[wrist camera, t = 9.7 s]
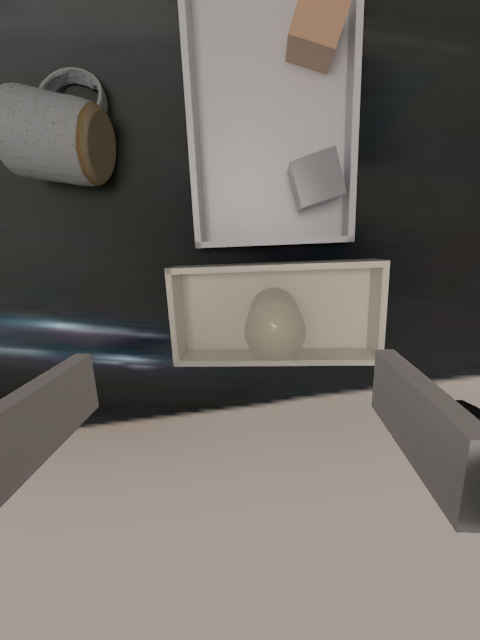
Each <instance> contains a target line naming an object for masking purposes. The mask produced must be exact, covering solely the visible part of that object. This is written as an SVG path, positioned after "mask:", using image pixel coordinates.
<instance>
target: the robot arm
mask: <svg viewBox="0 0 480 640" xmlns="http://www.w3.org/2000/svg"><path fill="white" fill-rule="evenodd" d="M98 407H99V404H98V397H97V391H96V385H95V378H94V372H93V366H92V359H91V354H74V355H72V356H71V357H69V358H68V359H66V360H64V361H63V362H61V363H59V364H58V365H56V366H54V367H53V368H51V369H49V370H48V371H46V372H45V373H43V374H41V375H40V376H38V377H36V378H35V379H33V380H31V381H30V382H28V383H26V384H25V385H23V386H22V387H20V388H18V389H17V390H15V391H13V392H12V393H10V394H8V395H7V396H5V397H4V398H2V399H0V507H1V506H2V505H3V504H4V503H5V502H6V501H7V500H8V499H9V498H10V497H11V496H12V495H13V494H14V493H15V492H16V491H17V490H18V489H19V488H20V487H21V486H22V485H23V484H24V483H25V482H26V480H27V479H28V478H29V477H30V476H31V475H32V474H33V473H34V472H35V471H36V470H37V469H38V468H39V467H40V466H41V465H42V464H43V463H44V462H45V461H46V460H47V459H48V458H49V457H50V456H51V455H52V454H53V453H54V452H55V451H56V450H57V449H58V448H59V447H60V446H61V445H62V444H63V443H64V442H65V441H66V440H67V439H68V438H69V436H70V435H71V434H73V433H74V431H75V430H76V429H77V428H78V427H79V426H80V425H81V424H82V423H83V422H84V421H85V420H86V419H87V418H88V417H89V416H90V415H91V414H92V413H93V412H94V411H95V410H96V409H97V408H98ZM372 407H373V408H374V410H375V411H376V413H377V414H378V416H379V417H380V419H381V420H382V422H383V423H384V425H385V426H386V428H387V429H388V431H389V432H390V434H391V435H392V437H393V438H394V440H395V441H396V443H397V444H398V446H399V447H400V449H401V450H402V452H403V453H404V455H405V456H406V458H407V459H408V461H409V462H410V464H411V465H412V467H413V468H414V469H415V471H416V473H417V474H418V476H419V477H420V478H421V480H422V482H423V483H424V484H425V486H426V488H427V489H428V490H429V492H430V493H431V495H432V497H433V498H434V499H435V501H436V503H437V504H438V505H439V507H440V508H441V510H442V511H443V513H444V514H445V516H446V517H447V519H448V520H449V522H450V523H451V525H452V526H453V528H454V529H455V531H456V532H470V533H480V409H479V408H478V407H476V406H473V405H471V404H469V403H467V402H465V401H462V400H454V399H453V398H452V397H451V396H450V395H448V394H447V393H446V392H445V391H443V390H442V389H441V388H440V387H439V386H437V385H436V384H435V383H434V382H433V381H431V380H430V379H429V378H428V377H426V376H425V375H424V374H423V373H422V372H420V371H419V370H418V369H417V368H416V367H414V366H413V365H412V364H411V363H409V362H408V361H407V360H406V359H405V358H403V357H402V356H401V355H400V354H399V353H397V352H396V351H395V350H394V349H383V350H376V352H375V367H374V382H373V397H372Z"/></svg>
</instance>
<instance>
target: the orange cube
mask: <svg viewBox="0 0 480 640" xmlns="http://www.w3.org/2000/svg"><path fill="white" fill-rule="evenodd" d="M351 1H352V0H298V2H297V5H296V8H295V12H294V15H293V18H292V22H291V25H290V28H289V32H288V38H287V49H286V59H285V61H286V62H289V63H292V64H295V65H298V66H301V67H305V68H308V69H311V70H314V71H317V72H320V73H323V74H326V75H327V72H328V69H329V67H330V64H331V61H332V58H333V55H334V52H335V49H336V46H337V43H338V40H339V37H340V34H341V31H342V28H343V25H344V22H345V19H346V16H347V13H348V10H349V7H350V4H351Z"/></svg>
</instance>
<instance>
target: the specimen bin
mask: <svg viewBox="0 0 480 640" xmlns="http://www.w3.org/2000/svg"><path fill="white" fill-rule="evenodd" d="M164 271H165V281H166V292H167V302H168V313H169V323H170V334H171V344H172V355H173V365H174V367H219V366H370V365H375V352H376V350H383V349H384V346H385V331H386V316H387V302H388V287H389V272H390V260H383V259H376V258H375V259H348V260H320V261H293V262H266V263H238V264H211V265H184V266H173V267H169V268H165V269H164ZM267 288H280V289H283V290H285V291H287V292H288V293H289V294H290V295H291V296H292V297H293V299H294V301H295V303H296V305H297V307H298V309H299V312H300V314H301V316H302V318H303V320H304V323H305V327H306V336H305V340H304V343H303V345H302V347H301V348H300V350H299V351H298V352H297V353H296V354H295V355H293V356H292V357H290V358H288V359H285V360H281V361H269V360H265V359H262V358H260V357H259V356H257V355H256V354H254V353H253V352H252V351H251V349H250V348H249V346H248V345H247V342H246V339H245V334H244V330H245V324H246V321H247V317H248V314H249V310H250V307H251V303H252V301H253V299H254V297H255V296H256V295H257V294H258V293H259V292H261V291H262V290H264V289H267Z"/></svg>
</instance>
